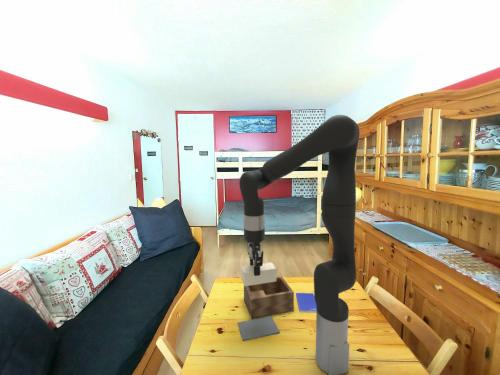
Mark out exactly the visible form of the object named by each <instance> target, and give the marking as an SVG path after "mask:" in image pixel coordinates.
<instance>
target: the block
mask: <svg viewBox="0 0 500 375" xmlns="http://www.w3.org/2000/svg"><path fill="white" fill-rule="evenodd" d="M240 268H241V270H240V271H241V274H240V275H241V281H242V284H243V287H244V286H250V285H257V284H263V283H269V282H276V277H277V268H276V265H274V264H273V262H266V263H264V262H263V265H262V266H260V275H259V276H255V275H254V265H250V264H249V265H244V266H243V265H242V266H241V267H240Z"/></svg>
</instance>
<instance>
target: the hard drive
mask: <svg viewBox="0 0 500 375" xmlns="http://www.w3.org/2000/svg"><path fill="white" fill-rule="evenodd" d="M295 295H296V301H297V308H298V311H299V313H310V314H311V313H314V314H317V305H316V302H315V297H314V292H313V293H312V292H310V293H309V292H308V293H307V292H296V293H295Z"/></svg>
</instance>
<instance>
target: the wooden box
mask: <svg viewBox="0 0 500 375" xmlns="http://www.w3.org/2000/svg"><path fill="white" fill-rule="evenodd" d="M294 297H295V292H294V290H293V289H292V287H290V285H289V284H288V282H287V281H286V280H285V278H284V277H283V276H281V275H279V276H276V282H269V283H263V284H257V285H250V286H244V285H243V300H244V303H245V306H246V308H247V311H248V314H249V316H250V320H252V319H258V318H263V317H268V316H276V315H281V314H282V315H283V314H286V313H292V312H294V311H295V308H294V306H295V305H294V303H295V302H294V300H295V298H294Z"/></svg>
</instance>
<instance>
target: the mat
mask: <svg viewBox="0 0 500 375" xmlns="http://www.w3.org/2000/svg"><path fill="white" fill-rule="evenodd" d="M237 325H238V328H239V333H240V336H241V337H240V338H241V340H242V342H245V341H249V340H254V339H255V340H256V339H260V338H264V337H269V336H273V335H276V334H280V333H281V332H280V330H279V327H278V325H277V324H276V322H275V320H274V318H273V315H271V316H266V317H261V318H256V319H248V320H244V321H238V322H237Z"/></svg>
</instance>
